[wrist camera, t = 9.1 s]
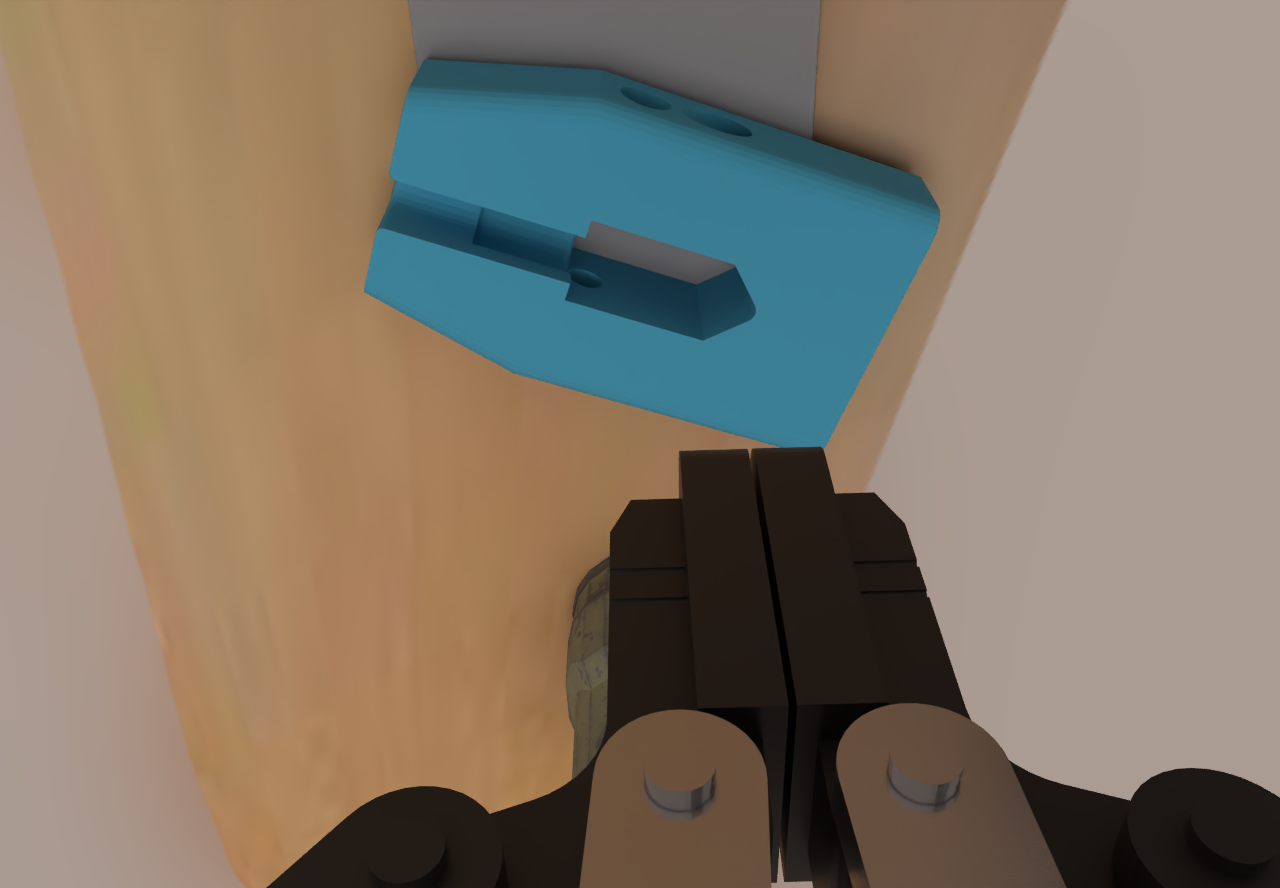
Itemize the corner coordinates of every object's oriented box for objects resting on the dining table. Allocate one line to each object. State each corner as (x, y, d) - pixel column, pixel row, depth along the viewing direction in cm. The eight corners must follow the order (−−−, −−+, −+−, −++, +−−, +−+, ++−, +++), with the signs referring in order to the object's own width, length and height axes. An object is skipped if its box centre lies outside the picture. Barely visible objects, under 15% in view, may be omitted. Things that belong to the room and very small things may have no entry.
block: (376, 282, 48) (800, 403, 52) (353, 338, 44) (815, 465, 48) (437, 8, 42) (915, 169, 46) (417, 43, 38) (944, 217, 42)
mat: (397, -98, 40) (394, -95, 40) (825, -112, 40) (827, -110, 40) (452, 298, 49) (450, 304, 49) (801, 288, 49) (803, 293, 49)
